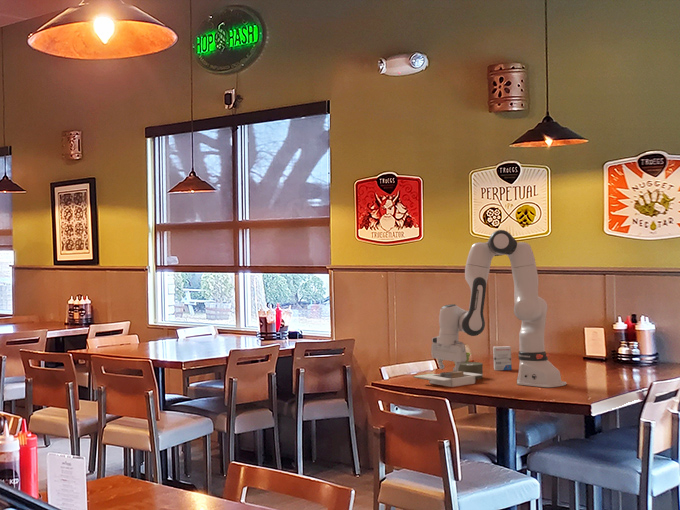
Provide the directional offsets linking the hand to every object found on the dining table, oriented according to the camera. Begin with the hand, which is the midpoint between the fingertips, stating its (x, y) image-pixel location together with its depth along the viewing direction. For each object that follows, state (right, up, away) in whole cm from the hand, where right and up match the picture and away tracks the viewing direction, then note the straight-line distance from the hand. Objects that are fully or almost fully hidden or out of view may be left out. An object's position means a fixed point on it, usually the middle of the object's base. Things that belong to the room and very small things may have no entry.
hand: (448, 370), depth 369 cm
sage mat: (-6, -6, +19) cm, 21 cm away
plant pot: (+12, -6, +40) cm, 43 cm away
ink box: (+32, -6, +39) cm, 51 cm away
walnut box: (+2, -6, 0) cm, 6 cm away
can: (+12, -6, +15) cm, 21 cm away
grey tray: (+2, -6, 0) cm, 6 cm away
